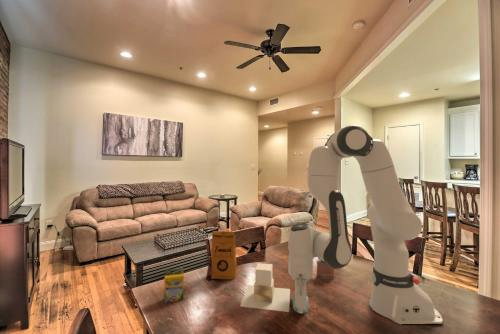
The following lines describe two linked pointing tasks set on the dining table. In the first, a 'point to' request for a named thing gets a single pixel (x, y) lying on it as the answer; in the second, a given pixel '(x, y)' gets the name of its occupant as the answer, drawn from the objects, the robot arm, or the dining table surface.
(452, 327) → the dining table surface
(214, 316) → the dining table surface
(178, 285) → the crayon box
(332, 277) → the lighter
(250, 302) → the white flat board
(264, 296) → the maple block
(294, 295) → the teal rounded cube
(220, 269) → the coffee package
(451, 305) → the dining table surface
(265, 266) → the white block
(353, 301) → the dining table surface
